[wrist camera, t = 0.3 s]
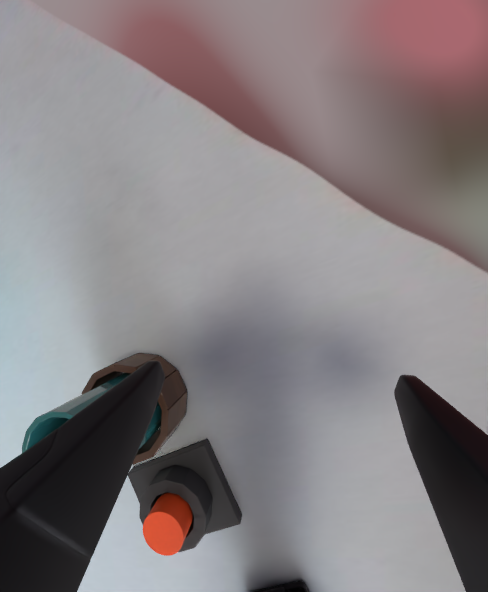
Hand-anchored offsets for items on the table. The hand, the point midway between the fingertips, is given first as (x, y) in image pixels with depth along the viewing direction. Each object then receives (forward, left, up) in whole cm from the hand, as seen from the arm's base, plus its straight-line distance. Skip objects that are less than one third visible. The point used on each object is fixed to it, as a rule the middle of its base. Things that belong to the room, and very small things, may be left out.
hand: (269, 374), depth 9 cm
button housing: (-12, +18, -14) cm, 26 cm away
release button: (-12, +18, -12) cm, 24 cm away
